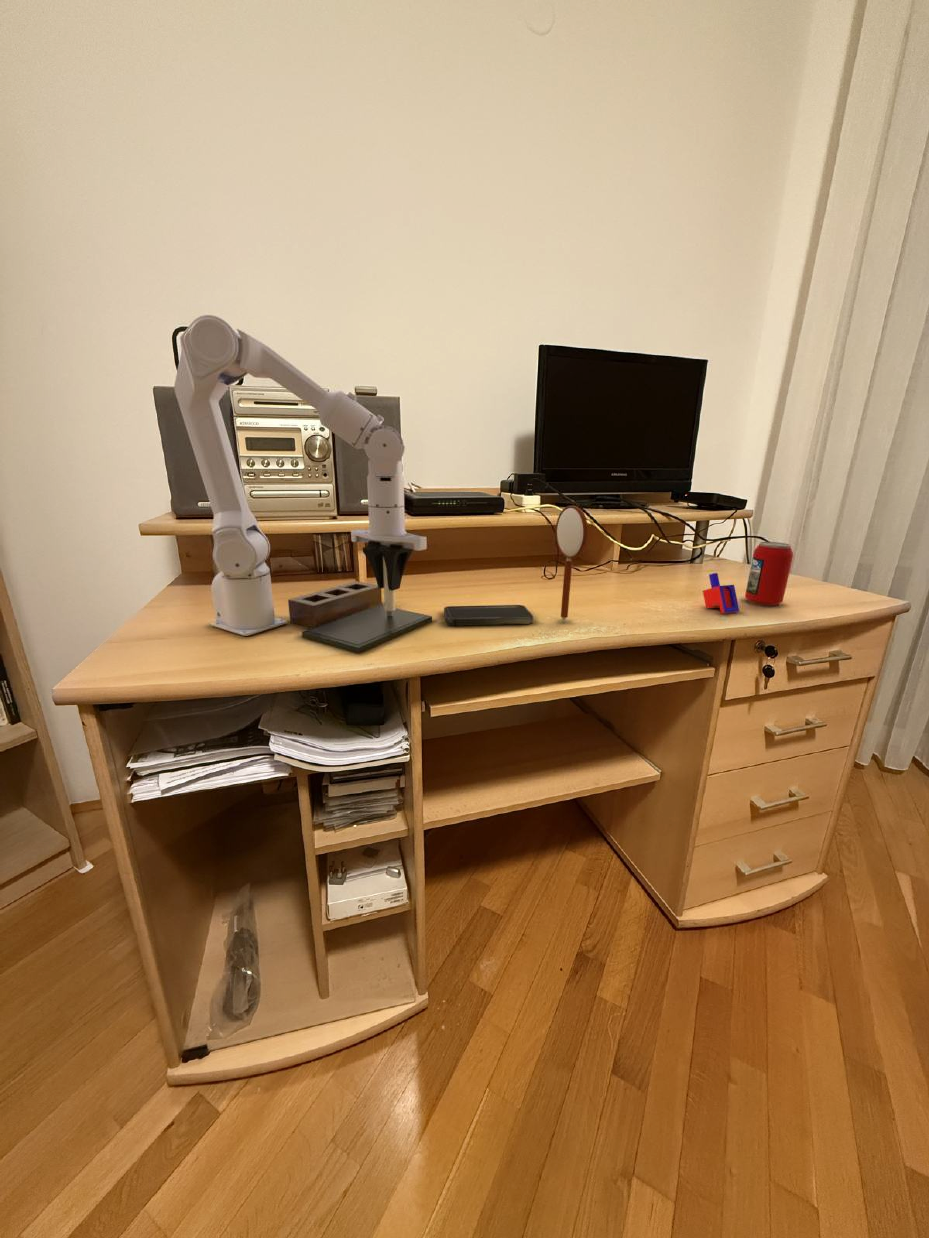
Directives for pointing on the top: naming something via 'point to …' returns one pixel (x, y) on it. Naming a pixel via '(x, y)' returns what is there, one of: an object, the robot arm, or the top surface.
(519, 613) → the phone
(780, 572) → the beverage can
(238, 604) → the robot arm
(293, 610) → the pen stand
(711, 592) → the toy building block
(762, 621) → the top surface
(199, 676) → the top surface
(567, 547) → the magnifying glass
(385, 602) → the stylus
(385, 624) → the tablet
